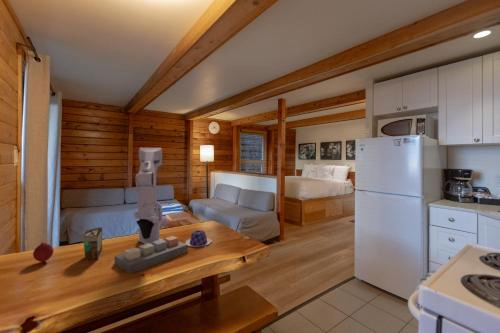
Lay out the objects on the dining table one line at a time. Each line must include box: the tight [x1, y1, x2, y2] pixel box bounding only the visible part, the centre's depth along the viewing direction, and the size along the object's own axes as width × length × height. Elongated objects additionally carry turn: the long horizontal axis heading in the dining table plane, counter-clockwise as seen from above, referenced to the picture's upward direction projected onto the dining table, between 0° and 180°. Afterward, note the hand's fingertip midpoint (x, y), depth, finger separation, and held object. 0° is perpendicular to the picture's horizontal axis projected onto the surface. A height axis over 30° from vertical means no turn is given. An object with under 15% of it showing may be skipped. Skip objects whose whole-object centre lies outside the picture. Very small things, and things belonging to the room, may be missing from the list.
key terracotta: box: [163, 235, 179, 247], centre depth 102 cm, size 4×4×3 cm
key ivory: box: [123, 247, 141, 261], centre depth 89 cm, size 4×4×3 cm
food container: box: [80, 226, 103, 261], centre depth 96 cm, size 12×6×10 cm, turn 23°
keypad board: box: [114, 240, 189, 274], centre depth 96 cm, size 12×24×3 cm, turn 142°
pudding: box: [184, 230, 212, 248], centre depth 112 cm, size 12×12×5 cm
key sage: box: [138, 243, 154, 255], centre depth 93 cm, size 4×4×3 cm
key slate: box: [152, 238, 167, 251], centre depth 98 cm, size 4×4×3 cm
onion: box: [32, 240, 55, 263], centre depth 91 cm, size 6×6×8 cm
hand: (146, 238), depth 93 cm, fingers closed
